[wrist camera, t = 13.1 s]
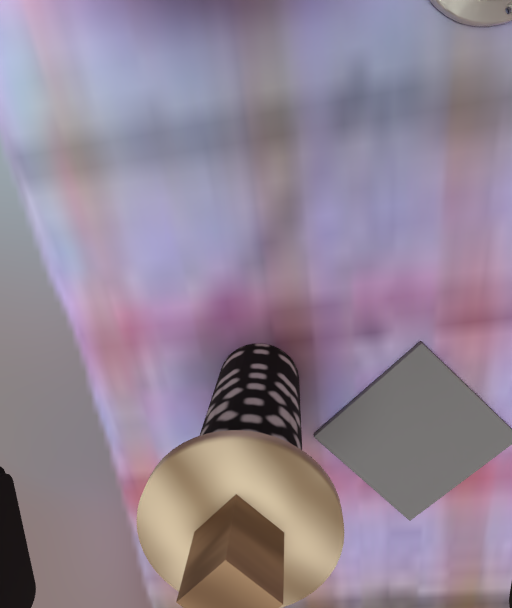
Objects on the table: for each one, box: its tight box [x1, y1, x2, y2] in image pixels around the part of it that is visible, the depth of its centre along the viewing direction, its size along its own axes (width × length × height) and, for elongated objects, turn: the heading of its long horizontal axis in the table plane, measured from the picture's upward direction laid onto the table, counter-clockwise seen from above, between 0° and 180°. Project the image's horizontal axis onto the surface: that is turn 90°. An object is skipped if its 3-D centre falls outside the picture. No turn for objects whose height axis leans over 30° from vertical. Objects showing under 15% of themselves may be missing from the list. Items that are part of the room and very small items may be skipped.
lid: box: [137, 430, 344, 608], centre depth 28 cm, size 13×13×6 cm
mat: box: [314, 341, 512, 521], centre depth 50 cm, size 15×15×1 cm
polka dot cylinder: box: [200, 344, 302, 450], centre depth 40 cm, size 8×8×20 cm
